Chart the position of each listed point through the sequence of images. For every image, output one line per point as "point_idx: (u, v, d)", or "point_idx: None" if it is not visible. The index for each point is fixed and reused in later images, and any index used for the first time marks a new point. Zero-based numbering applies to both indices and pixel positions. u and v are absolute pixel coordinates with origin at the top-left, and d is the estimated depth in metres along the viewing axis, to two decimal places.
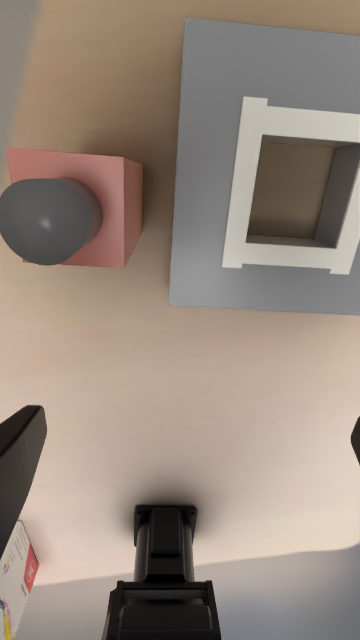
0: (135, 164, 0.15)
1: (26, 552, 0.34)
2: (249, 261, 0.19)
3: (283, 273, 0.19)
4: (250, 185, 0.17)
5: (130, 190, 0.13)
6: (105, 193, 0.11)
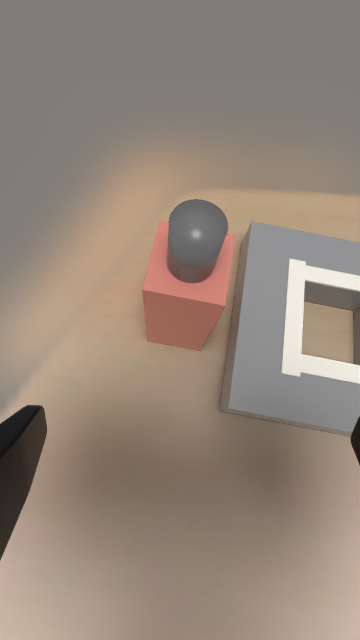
0: None
1: None
2: (306, 370, 0.20)
3: (339, 388, 0.20)
4: (299, 310, 0.21)
5: None
6: (219, 253, 0.16)
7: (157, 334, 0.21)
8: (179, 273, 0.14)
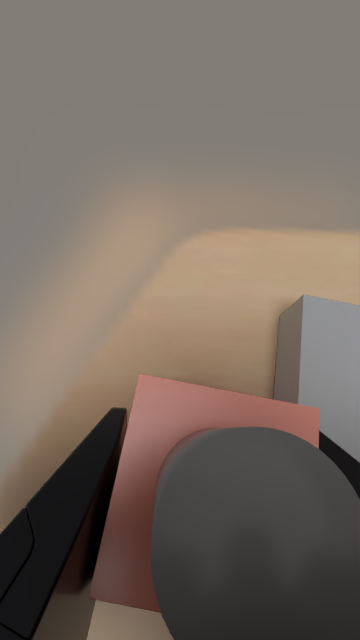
0: None
1: None
2: None
3: None
4: None
5: None
6: None
7: None
8: None
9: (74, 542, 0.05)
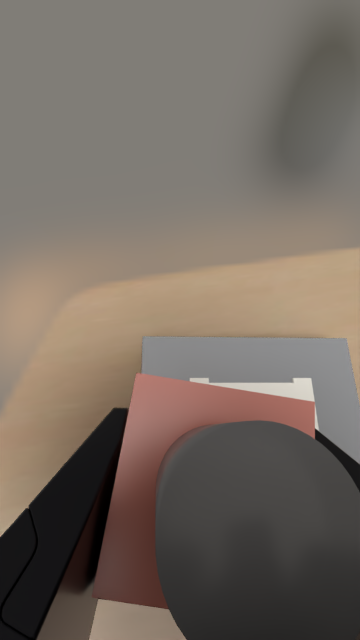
0: None
1: None
2: None
3: None
4: None
5: None
6: None
7: None
8: None
9: (77, 542, 0.05)
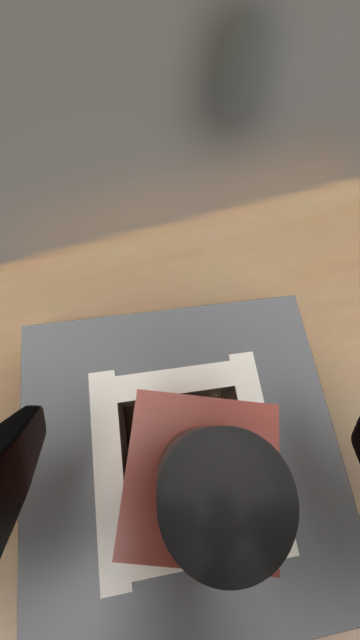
0: None
1: None
2: (142, 574, 0.12)
3: None
4: (116, 461, 0.13)
5: None
6: None
7: None
8: None
9: None
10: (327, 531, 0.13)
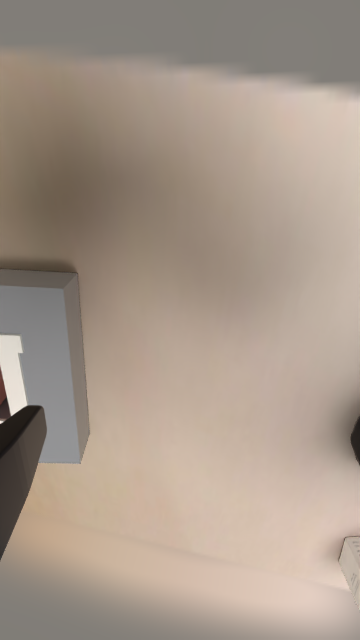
0: None
1: None
2: None
3: (34, 388, 0.20)
4: None
5: None
6: None
7: None
8: None
9: None
10: (7, 311, 0.18)
